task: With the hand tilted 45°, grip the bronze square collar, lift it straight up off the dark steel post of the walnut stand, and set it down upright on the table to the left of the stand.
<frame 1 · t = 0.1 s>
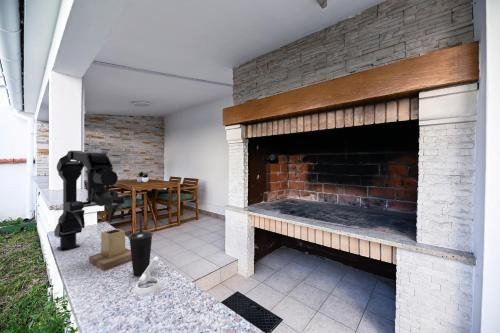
hand: (97, 224, 84), 15 cm above the countertop, tool pointing down, fingers open, 9 cm apart
hook: (147, 288, 67), on the countertop
collar: (113, 254, 86), point 2 cm above the countertop, touching post stand
drinking cup: (141, 273, 76), on the countertop
post stand: (113, 260, 86), on the countertop
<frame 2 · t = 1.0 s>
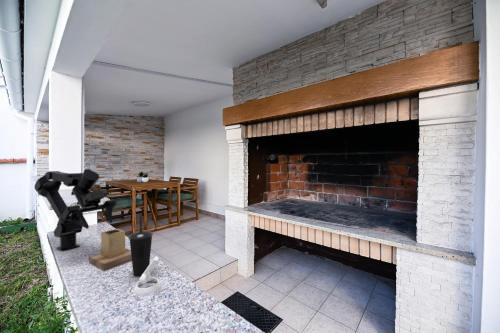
hand: (100, 225, 89), 13 cm above the countertop, tool tilted 45°, fingers open, 9 cm apart
nothing on the countertop moved.
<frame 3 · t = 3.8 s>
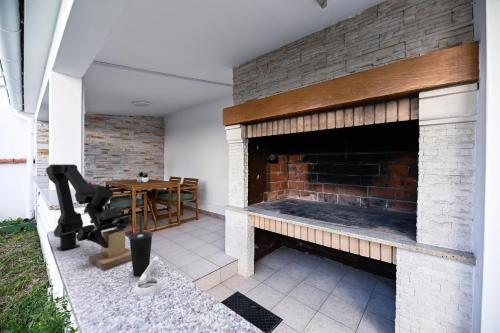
hand: (115, 244, 85), 7 cm above the countertop, tool tilted 45°, fingers closed on collar, 6 cm apart
collar: (113, 254, 86), point 3 cm above the countertop, touching gripper, post stand
everything else where it was.
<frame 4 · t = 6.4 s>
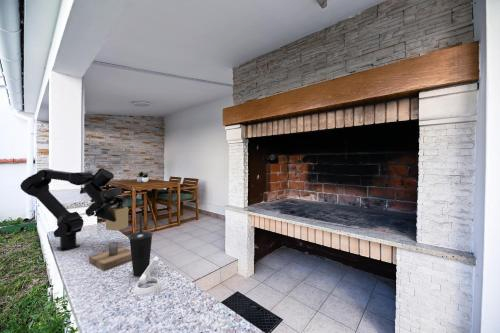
hand: (120, 219, 97), 14 cm above the countertop, tool tilted 45°, fingers closed on collar, 6 cm apart
collar: (117, 228, 97), point 10 cm above the countertop, touching gripper
everything else where it was.
when the fingers open (6 cm above the countertop, at t = 9.0 s): collar drops 2 cm, on the countertop.
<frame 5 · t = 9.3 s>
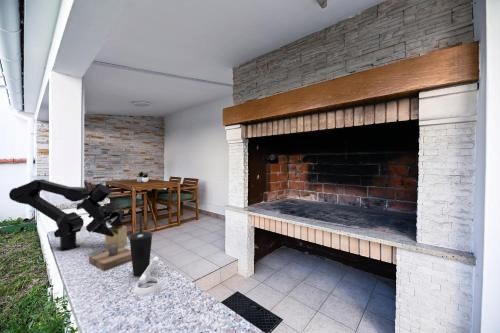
hand: (119, 232, 100), 7 cm above the countertop, tool tilted 45°, fingers open, 9 cm apart
collar: (116, 246, 100), on the countertop
everything else where it was.
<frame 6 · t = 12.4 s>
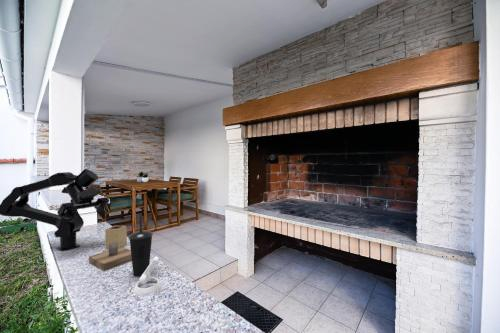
hand: (94, 220, 94), 14 cm above the countertop, tool tilted 45°, fingers open, 9 cm apart
nothing on the countertop moved.
at the end: collar inside the target area (0.1 cm from its centre), on the countertop; collar tilted 0°; collar touching countertop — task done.
